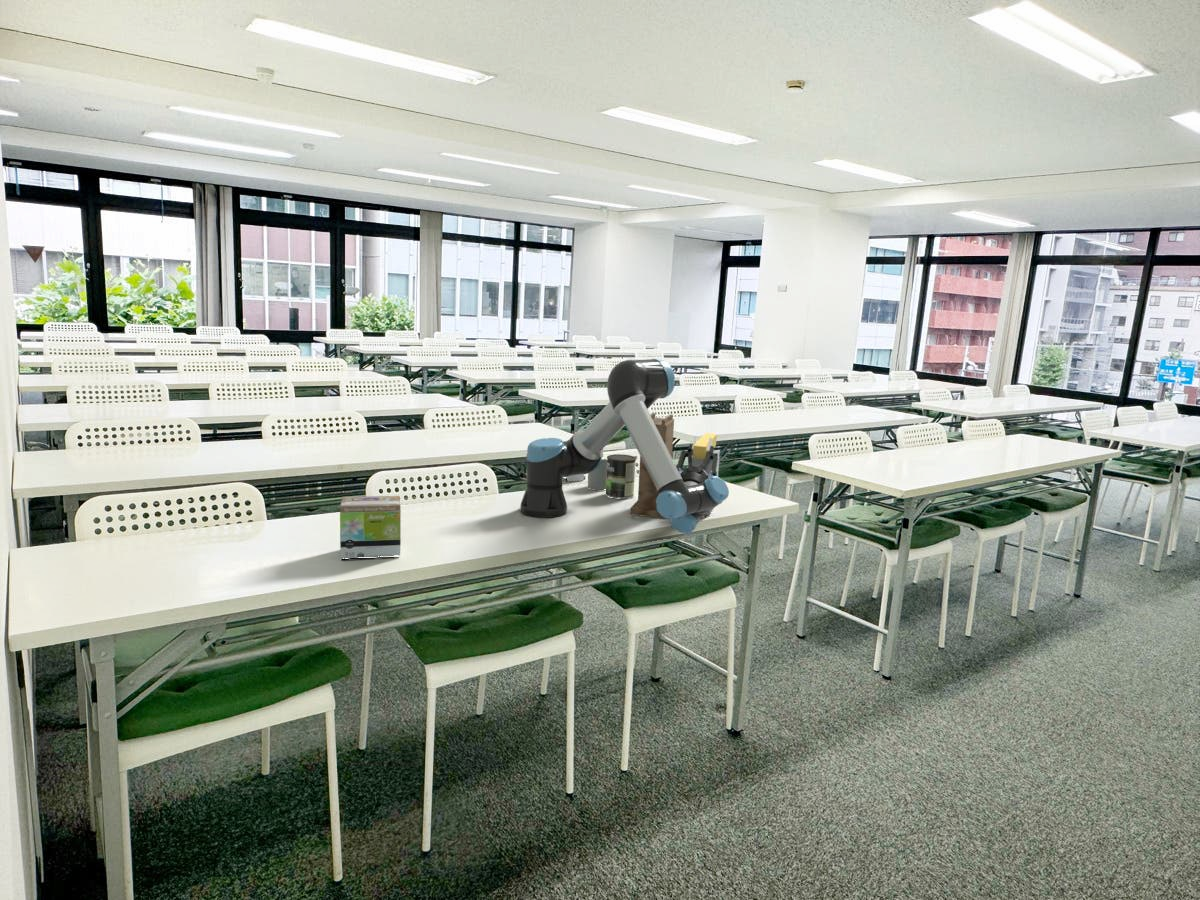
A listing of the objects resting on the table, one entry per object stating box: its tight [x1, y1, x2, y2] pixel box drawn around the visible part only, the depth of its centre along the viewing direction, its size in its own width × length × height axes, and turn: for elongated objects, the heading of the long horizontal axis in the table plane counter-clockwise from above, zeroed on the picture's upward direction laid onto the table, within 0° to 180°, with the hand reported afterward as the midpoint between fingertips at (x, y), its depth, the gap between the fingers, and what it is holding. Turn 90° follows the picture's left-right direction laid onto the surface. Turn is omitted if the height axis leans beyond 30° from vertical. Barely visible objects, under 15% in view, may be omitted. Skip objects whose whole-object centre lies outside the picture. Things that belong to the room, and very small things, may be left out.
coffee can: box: [605, 453, 637, 500], centre depth 264 cm, size 10×10×14 cm
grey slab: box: [692, 449, 721, 516], centre depth 251 cm, size 8×16×19 cm, turn 164°
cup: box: [587, 458, 607, 491], centre depth 275 cm, size 8×8×10 cm
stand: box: [629, 412, 675, 519], centre depth 246 cm, size 12×18×32 cm, turn 164°
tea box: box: [339, 495, 402, 559], centre depth 195 cm, size 15×10×15 cm, turn 106°
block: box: [693, 432, 718, 459], centre depth 245 cm, size 4×26×4 cm, turn 164°
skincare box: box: [566, 474, 585, 482], centre depth 288 cm, size 10×6×10 cm, turn 25°
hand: (703, 440), depth 239 cm, fingers closed on block, 4 cm apart
